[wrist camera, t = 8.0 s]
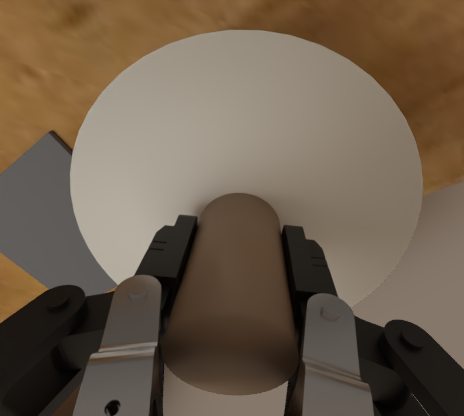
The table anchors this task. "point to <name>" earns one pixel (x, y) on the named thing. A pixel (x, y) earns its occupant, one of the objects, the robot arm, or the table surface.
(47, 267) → the mat
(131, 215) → the lid
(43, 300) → the robot arm
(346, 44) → the table surface
